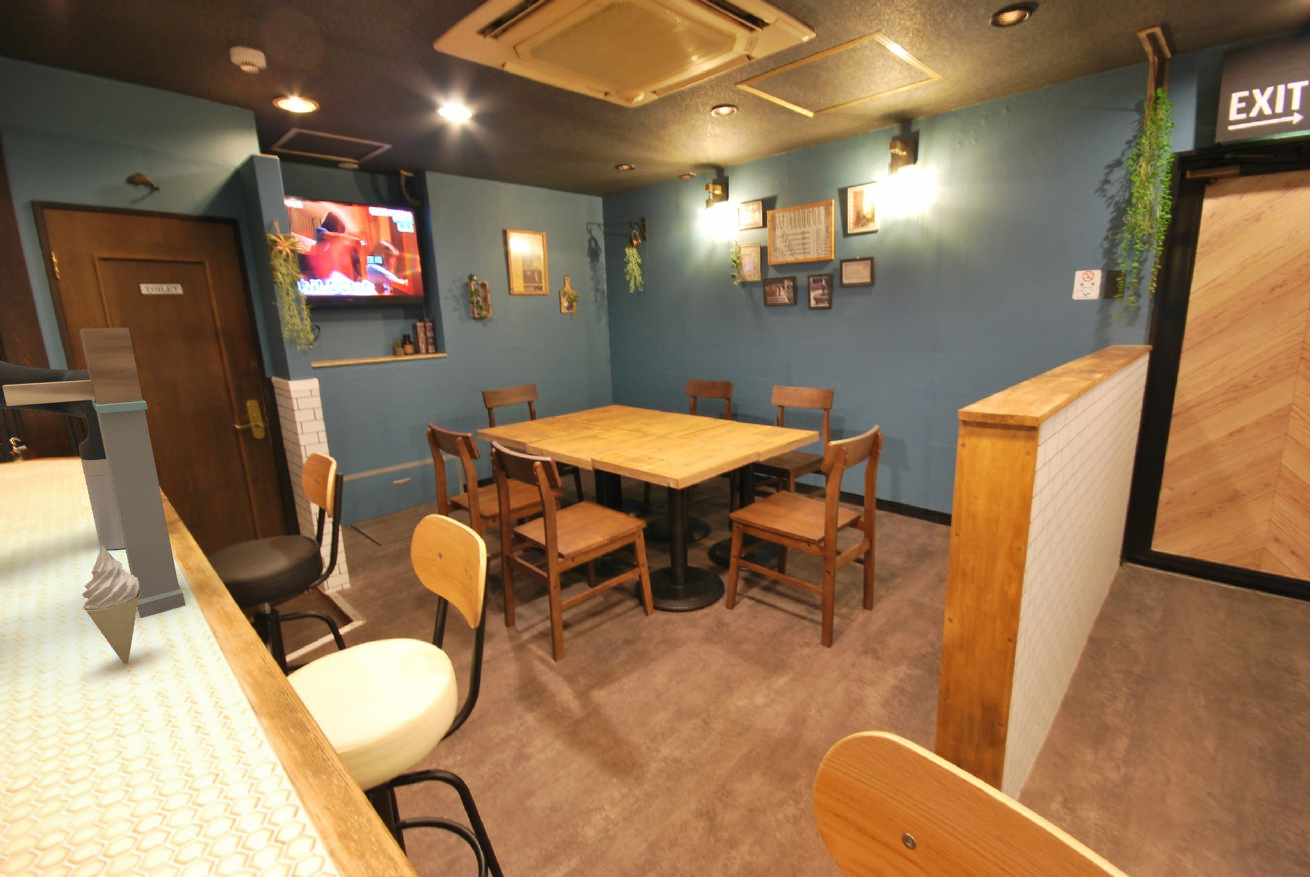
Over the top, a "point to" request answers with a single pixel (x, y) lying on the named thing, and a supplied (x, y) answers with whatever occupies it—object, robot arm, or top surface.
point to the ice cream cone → (113, 602)
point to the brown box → (90, 374)
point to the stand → (139, 505)
